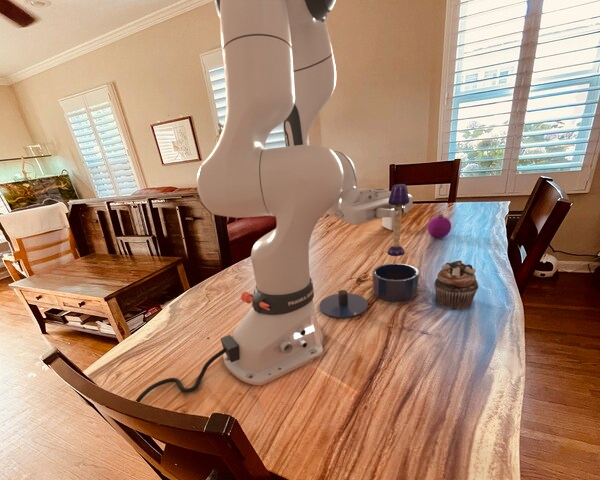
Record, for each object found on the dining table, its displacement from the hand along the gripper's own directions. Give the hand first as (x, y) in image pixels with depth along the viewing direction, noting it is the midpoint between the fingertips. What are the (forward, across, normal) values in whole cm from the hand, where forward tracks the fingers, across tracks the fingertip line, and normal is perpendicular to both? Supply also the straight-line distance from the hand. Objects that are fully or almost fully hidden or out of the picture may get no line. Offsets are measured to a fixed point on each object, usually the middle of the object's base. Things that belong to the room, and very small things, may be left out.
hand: (401, 212), depth 74 cm
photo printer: (-45, +44, +22) cm, 67 cm away
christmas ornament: (-22, +46, +22) cm, 55 cm away
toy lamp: (-1, 0, +11) cm, 11 cm away
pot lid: (-4, -15, +21) cm, 26 cm away
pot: (-1, 0, +22) cm, 22 cm away
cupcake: (+12, +7, +22) cm, 26 cm away
